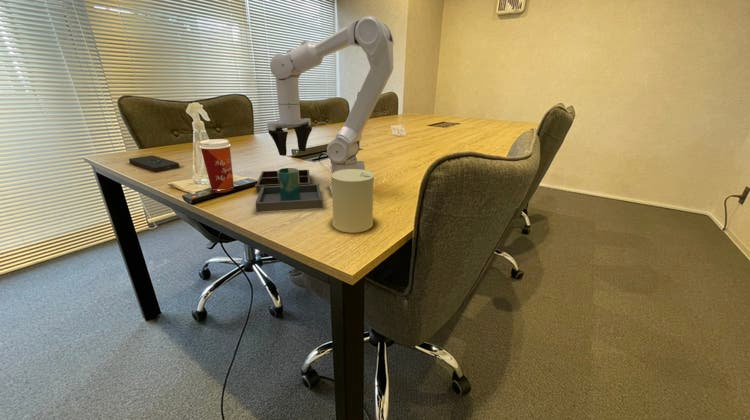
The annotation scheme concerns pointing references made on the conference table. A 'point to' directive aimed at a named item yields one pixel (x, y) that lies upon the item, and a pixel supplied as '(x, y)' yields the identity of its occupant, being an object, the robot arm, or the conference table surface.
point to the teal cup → (289, 184)
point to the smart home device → (154, 163)
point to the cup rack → (272, 179)
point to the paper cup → (218, 163)
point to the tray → (271, 200)
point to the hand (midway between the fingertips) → (292, 153)
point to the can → (352, 200)
